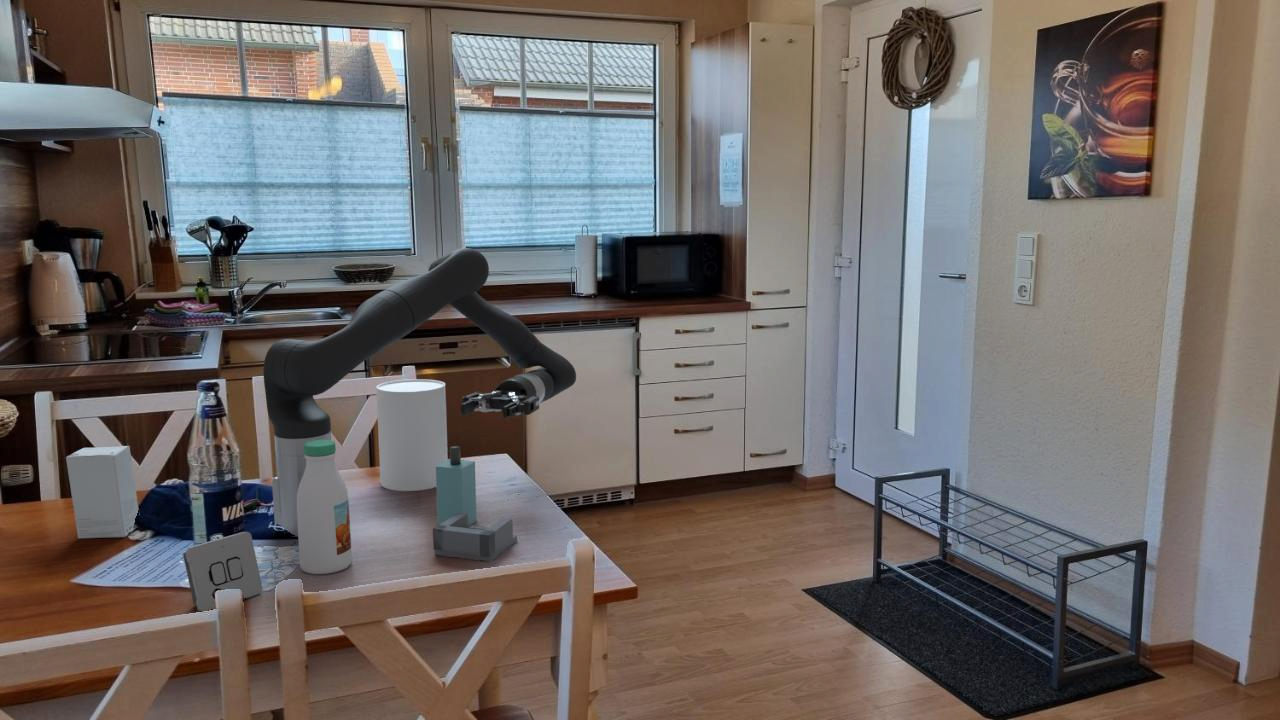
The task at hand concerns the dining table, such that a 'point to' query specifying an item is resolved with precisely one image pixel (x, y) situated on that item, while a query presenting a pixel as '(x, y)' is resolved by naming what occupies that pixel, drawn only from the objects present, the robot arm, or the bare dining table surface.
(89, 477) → the skincare box
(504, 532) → the socket
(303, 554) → the milk bottle
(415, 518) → the dining table surface
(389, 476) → the canister
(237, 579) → the electrical switch
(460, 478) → the plug
